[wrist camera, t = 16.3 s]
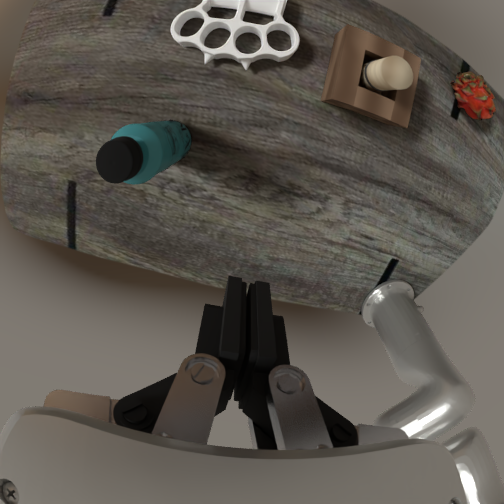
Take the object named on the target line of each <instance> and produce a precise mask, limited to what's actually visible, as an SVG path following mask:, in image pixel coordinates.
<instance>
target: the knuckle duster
mask: <svg viewBox="0 0 504 504" xmlns="http://www.w3.org/2000/svg"><path fill="white" fill-rule="evenodd" d="M286 3H287V0H203V1H202V3H201V4H200V5H198V6H197V7H196V8H192V9H188V10H185V11H183V12H182V13H180V14H179V15H178V16H177V17H176V18H175V19H174V20H173V22H172V25H171V34H172V37H173V38H174V39H175V40H176V41H177V42H178V43H179V44H180V45H181V46H183V47H196V48H198V49H200V50H201V51H202V52H203V53H204V54H205V64H206V63H208V62H209V61H210V60H212V59H213V58H215V59H220V58H230V59H234V60H236V61H237V62H239V63H242V65H243V66H244V68H245V70H246V71H247V69H248V67H249V65H250V64H251V62H255V61H256V60H259V59H272V60H275V61H277V62H281V61H285V60H287V59H289V58H290V57H291V56H292V55H293V54H294V53H295V51H296V50H297V48H298V46H299V42H300V38H299V34H298V32H297V30H296V29H295V28H294V27H293V26H292V25H291V24H289V23H287V22H285V21H284V19H283V17H282V16H283V13H284V9H285V6H286ZM211 7H221V8H229V9H237V12H236V15H235V17H234V18H233V19H230V20H228V19H219V18H211V17H209V16H208V14H207V12H208V11H209V10H211ZM245 11H250V12H256V13H261V14H266V15H271V16H274V21H273V22H270V23H268V24H267V25H259V24H253V23H248V22H244V21H243V17H244V14H245ZM191 18H202V19H204V24H203V26H202V27H201V29H200V30H199V31H198V32H197V33H196V34H194V35H192V36H189V37H183V36H180V30H181V28H182V27H183V25H184V24H185V22H186V21H188V20H189V19H191ZM217 28H224V29H227V30H228V31H230V33H231V35H230V38H229V39H228V40H227V42H226V43H225V44H224V45H223V46H221V47H219V48H216V49H211V48H207V47H205V46H204V41H205V38H206V37H207V35H208V34H209V33H210V32H211V31H212V30H214V29H217ZM274 30H282V31H284V32H286V33H287V34H288V35H289V36H290V38H291V44H292V47H291V49H289V50H287V51H277V50H274V49H273V48H271V47H270V46H269V44H268V42H267V34H268V33H269V32H271V31H274ZM246 32H251V33H254V34H256V35H258V36H259V38H260V40H261V46H262V47H261V48H260V50H259V51H257V52H255V53H253V54H244V53H241V52H240V51H238V50H237V48H236V45H235V41H236V39H237V37H238V36H239V35H241V34H242V33H246Z"/></svg>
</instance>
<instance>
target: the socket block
mask: <svg viewBox="0 0 504 504" xmlns="http://www.w3.org/2000/svg"><path fill="white" fill-rule="evenodd" d="M389 56H399V57H401V58H403V59H404V60H406V61H407V62H408V64H409V65H410V67H411V69H412V72H413V82H412V84H411V85H410V87H408V88H407V89H401V90H388V91H370V90H367V89H365V88H362V87H360V86H358V84H359V79H360V74H361V70H362V65H363V64H366V63H369V62H370V61H373V60H379V59H382V58H385V57H389ZM420 62H421V58H419V57H417V56H415V55H414V54H412V53H410V52H408V51H406V50H404V49H403V48H401V47H399V46H397V45H395V44H393V43H391V42H389V41H386V40H384V39H382V38H380V37H378V36H376V35H373V34H371V33H369V32H366V31H364V30H361V29H359V28H356V27H354V26H351V25H349V24H348V25H346V26H345V27H344V28H343V29H342V30H340V31H339V32H338V33H337V34H336V35H335V38H334V43H333V48H332V52H331V57H330V62H329V66H328V71H327V75H326V80H325V84H324V89H323V93H322V97H321V101H323V102H326V103H329V104H333V105H336V106H339V107H342V108H345V109H348V110H351V111H353V112H356V113H359V114H362V115H364V116H367V117H370V118H372V119H375V120H377V121H380V122H382V123H385V124H387V125H391V126H397V127H403V128H408V124H409V119H410V115H411V110H412V106H413V101H414V96H415V91H416V86H417V80H418V74H419V68H420Z"/></svg>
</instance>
